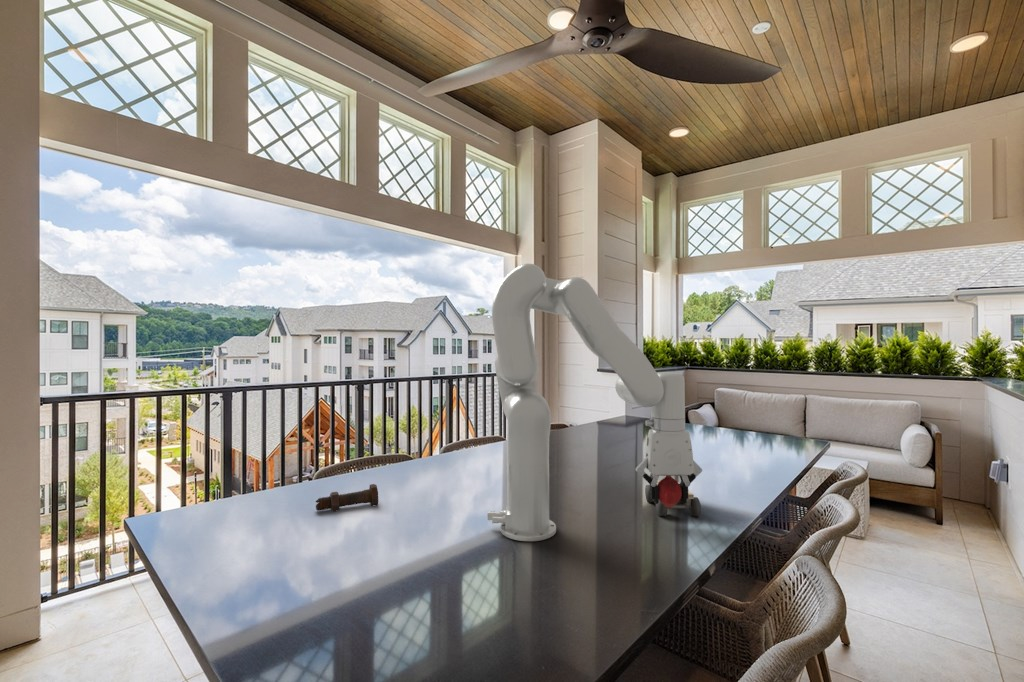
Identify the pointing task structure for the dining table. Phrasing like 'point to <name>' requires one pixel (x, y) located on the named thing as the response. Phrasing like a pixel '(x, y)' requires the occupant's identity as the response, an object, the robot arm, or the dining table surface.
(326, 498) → the bolt
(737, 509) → the dining table surface
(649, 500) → the trolley
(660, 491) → the onion
